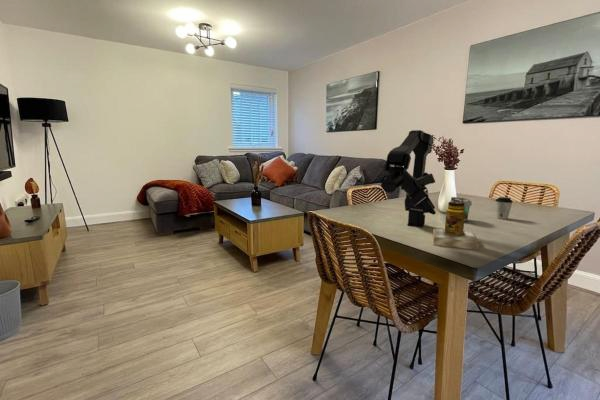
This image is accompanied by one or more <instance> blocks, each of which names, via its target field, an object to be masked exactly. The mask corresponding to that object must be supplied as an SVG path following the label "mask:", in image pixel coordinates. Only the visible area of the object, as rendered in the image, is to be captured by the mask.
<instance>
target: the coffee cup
mask: <svg viewBox="0 0 600 400" xmlns="http://www.w3.org/2000/svg"><path fill="white" fill-rule="evenodd" d="M512 205H513V200H512V199H511V197H506V196H503V197H502V196H499V197H498V198H496V199H495V218H496V219H498V220H502V221H504V220H508V219H509V215H510V212H511V208H512Z"/></svg>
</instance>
